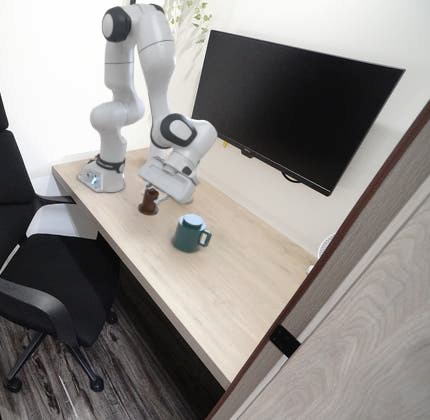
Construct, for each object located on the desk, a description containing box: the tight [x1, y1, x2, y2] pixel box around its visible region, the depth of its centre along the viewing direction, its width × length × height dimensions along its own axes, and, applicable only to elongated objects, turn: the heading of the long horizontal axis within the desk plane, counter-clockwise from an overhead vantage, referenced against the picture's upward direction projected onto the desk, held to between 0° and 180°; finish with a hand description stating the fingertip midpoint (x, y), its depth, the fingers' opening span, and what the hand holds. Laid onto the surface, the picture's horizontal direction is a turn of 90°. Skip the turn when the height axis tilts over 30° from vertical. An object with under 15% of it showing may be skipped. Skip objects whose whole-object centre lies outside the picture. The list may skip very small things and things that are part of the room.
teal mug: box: [171, 213, 213, 254], centre depth 114 cm, size 12×9×12 cm
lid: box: [137, 187, 160, 217], centre depth 107 cm, size 7×7×9 cm
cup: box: [146, 141, 168, 162], centre depth 160 cm, size 8×8×16 cm
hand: (149, 199), depth 107 cm, fingers closed on lid, 4 cm apart
